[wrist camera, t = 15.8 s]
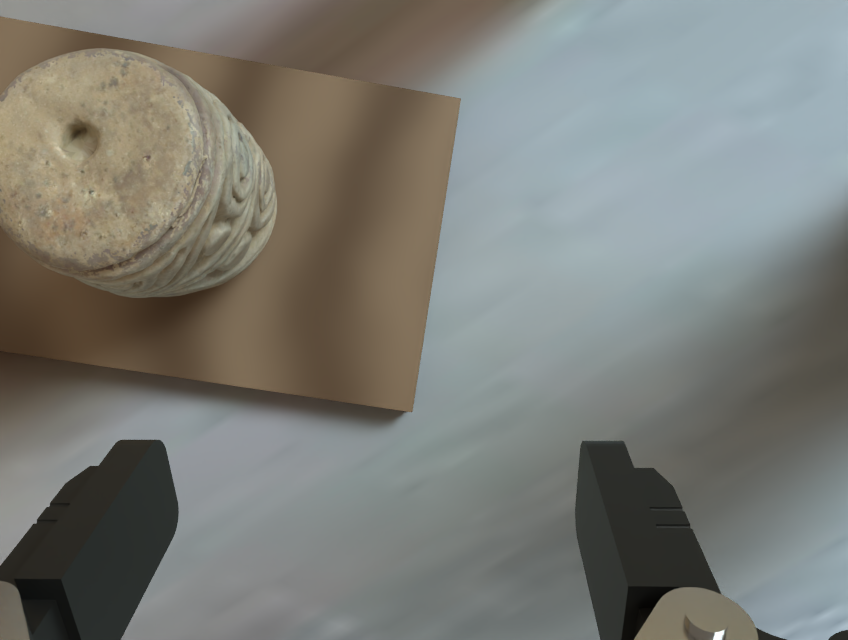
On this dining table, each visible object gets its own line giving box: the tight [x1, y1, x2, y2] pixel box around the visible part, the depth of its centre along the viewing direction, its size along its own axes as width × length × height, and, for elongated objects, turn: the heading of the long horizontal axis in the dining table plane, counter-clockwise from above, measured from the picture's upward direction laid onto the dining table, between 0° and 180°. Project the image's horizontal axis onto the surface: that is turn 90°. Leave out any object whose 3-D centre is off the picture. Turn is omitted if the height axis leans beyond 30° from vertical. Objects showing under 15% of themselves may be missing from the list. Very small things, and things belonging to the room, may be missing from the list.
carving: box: [0, 48, 277, 298], centre depth 24 cm, size 6×8×12 cm
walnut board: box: [0, 17, 461, 412], centre depth 31 cm, size 20×14×2 cm
